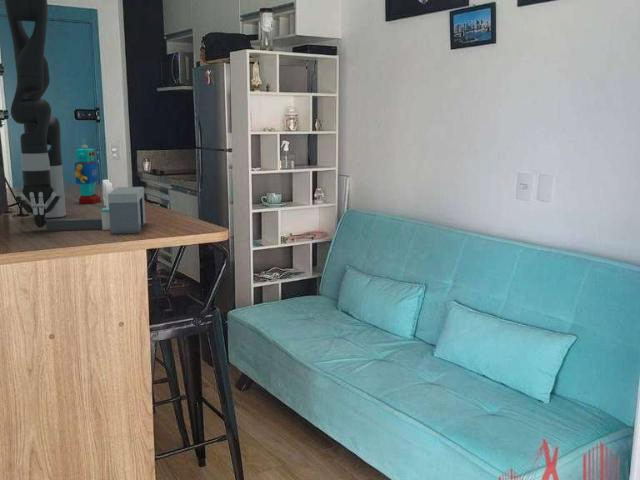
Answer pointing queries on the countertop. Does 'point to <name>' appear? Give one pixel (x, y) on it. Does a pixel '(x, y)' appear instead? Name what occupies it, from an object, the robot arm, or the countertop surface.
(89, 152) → the toy robot
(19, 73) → the robot arm
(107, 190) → the letter
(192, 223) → the countertop surface
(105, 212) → the plug
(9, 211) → the countertop surface
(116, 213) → the housing
